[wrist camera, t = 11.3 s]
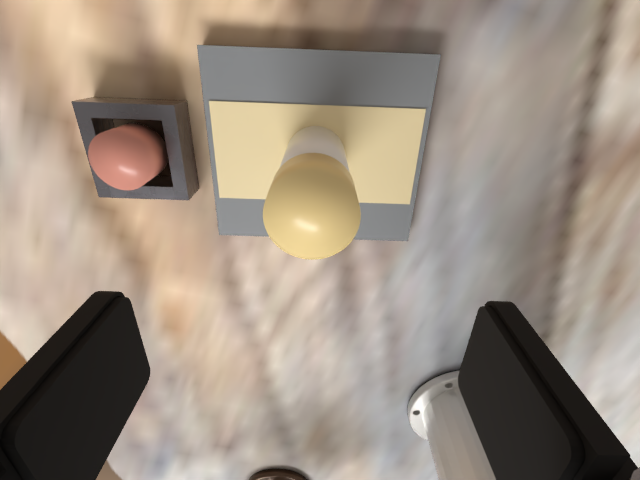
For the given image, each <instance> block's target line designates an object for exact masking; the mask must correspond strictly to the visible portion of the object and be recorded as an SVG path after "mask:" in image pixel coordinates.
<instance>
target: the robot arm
mask: <svg viewBox="0 0 640 480" xmlns="http://www.w3.org/2000/svg"><path fill="white" fill-rule="evenodd" d="M149 377H150V366H149V363H148V359H147V356H146V353H145V349H144V346H143V342H142V339H141V335H140V332H139V328H138V325H137V322H136V318H135V315H134V311H133V308H132V304H131V301H130V299H129V298H127V297H125V296H124V294H123V293H122V292H112V291H97V292H95V293H94V294H92V295H91V296H90V297H89V298H88V299H87V300H86V302H85V303H84V304H83V305H82V306H81V307H80V308H79V309H78V310H77V311H76V312H75V313H74V314H73V315H72V316H71V317H70V318H69V319H68V320H67V321H66V322H65V323H64V324H63V325H62V326H61V327H60V328H59V330H58V331H57V332H56V333H55V334H54V335H53V336H52V337H51V338H50V339H49V340H48V341H47V342H46V343H45V344H44V345H43V346H42V347H41V348H40V349H39V350H38V351H37V352H36V353H35V354H34V355H33V357H32V358H31V359H30V360H29V361H28V362H27V363H26V364H25V365H24V366H23V367H22V368H21V369H20V370H19V371H18V372H17V373H16V374H15V375H14V376H13V377H12V378H11V379H10V381H8V382H7V384H6V385H5V386H4V387H3V388H2V389H1V390H0V480H96V478H97V476H98V474H99V472H100V470H101V469H102V466H103V465H104V463H105V461H106V459H107V457H108V455H109V454H110V452H111V450H112V448H113V446H114V444H115V442H116V441H117V439H118V437H119V435H120V433H121V431H122V429H123V427H124V426H125V424H126V422H127V420H128V418H129V416H130V414H131V413H132V411H133V409H134V407H135V405H136V403H137V401H138V399H139V398H140V396H141V394H142V392H143V390H144V388H145V386H146V385H147V383H148V380H149ZM407 414H408V418H409V422H410V425H411V427H412V429H413V430H414V431H415V432H416V434H418V435H419V436H420V437H422V438H423V439H425V440H427V441H429V445H430V448H431V452H432V456H433V459H434V463H435V467H436V470H437V474H438V478H439V480H640V467H639V468H638V467H637V466H636V465H635V463H634V462H633V461H632V459H631V458H630V454H629V453H628V452H627V450H626V449H625V448H624V446H623V445H622V444H621V443H620V441H619V440H618V439H617V437H616V436H615V435H614V433H613V432H612V431H611V429H610V428H609V427H608V426H607V424H606V423H605V422H604V420H603V419H602V418H601V416H600V415H599V414H598V412H597V411H596V410H595V409H594V407H593V406H592V405H591V403H590V402H589V401H588V399H587V398H586V397H585V396H584V394H583V393H582V392H581V390H580V389H579V388H578V386H577V385H576V384H575V382H574V381H573V380H572V379H571V377H570V376H569V375H568V373H567V372H566V371H565V369H564V368H563V367H562V366H561V364H560V363H559V362H558V360H557V359H556V358H555V356H554V355H553V354H552V352H551V351H550V350H549V349H548V347H547V346H546V345H545V343H544V342H543V341H542V339H541V338H540V337H539V336H538V334H537V333H536V332H535V330H534V329H533V328H532V326H531V325H530V324H529V322H528V321H527V320H526V319H525V317H524V316H523V315H522V313H521V312H520V311H519V309H518V308H517V307H516V306H515V305H514V304H513V303H512V302H502V301H489V302H487V303H486V304H485V306H482V307H480V308H479V310H478V313H477V316H476V319H475V322H474V326H473V329H472V332H471V336H470V339H469V342H468V345H467V349H466V352H465V355H464V358H463V362H462V365H461V368H460V371H454V372H450V373H446V374H443V375H440V376H438V377H435V378H434V379H432V380H430V381H428V382H426V383H425V384H424V385H422V386H421V387H420V388H419V389H418V390H417V391H416V392H415V393H414V394H413V396H412V398H411V399H410V401H409V404H408V413H407Z"/></svg>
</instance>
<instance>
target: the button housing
mask: <svg viewBox="0 0 640 480" xmlns="http://www.w3.org/2000/svg"><path fill="white" fill-rule="evenodd" d="M72 105H73V108H74V112H75V115H76V119H77V122H78V126H79V129H80V133H81V136H82V140H83V143H84V147H85V150H86V154H87V157H88V149H89V145H90V142H91V141H92V139H93V138H94V137H95V136H96V135H98V134H100V133H102V132H105V131H107V130H110V129H113V128H114V124H113V120H112V119H140V120H162V125H163V130H164V136H165V142H166V148H167V153H168V159H169V165H170V171H171V176H155V177H154V178H152V179H151V180H150V181H148V182H147V183H146V184H144V185H143V186H141V187H140V188H138V189H135V190H120V189H117V188H114V187H112V186H110V185H108V184H107V183H105V182H104V181H103V180H101V179H100V178H99V177H98V176H97V174H96V173H95V172H94V170H93V168H92V166H91V164H90V161H89V157H88V161H89V164H90V168H91V171H92V175H93V178H94V182H95V185H96V189H97V192H98V196H99V197H110V198H139V199H168V200H189V199H190V198H191V197H192V196H193V195H194V194H195V193H196V192H197V191H198V189H199V185H198V178H197V171H196V163H195V156H194V149H193V142H192V134H191V127H190V120H189V113H188V105H187V101H181V100H154V99H128V98H101V97H92V98H87V99H82V100H76V101H72Z"/></svg>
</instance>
